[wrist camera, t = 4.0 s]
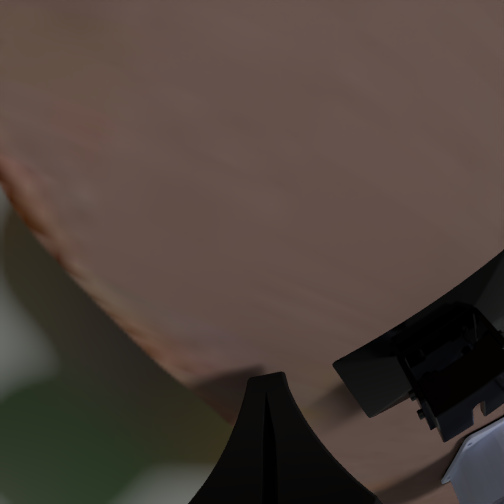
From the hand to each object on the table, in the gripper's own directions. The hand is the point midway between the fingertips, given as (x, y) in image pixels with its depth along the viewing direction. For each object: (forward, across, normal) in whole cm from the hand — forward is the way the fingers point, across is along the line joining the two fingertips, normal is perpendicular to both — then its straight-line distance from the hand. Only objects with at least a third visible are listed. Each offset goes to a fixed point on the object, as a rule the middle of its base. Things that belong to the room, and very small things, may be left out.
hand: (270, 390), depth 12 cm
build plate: (+2, -8, +1) cm, 8 cm away
